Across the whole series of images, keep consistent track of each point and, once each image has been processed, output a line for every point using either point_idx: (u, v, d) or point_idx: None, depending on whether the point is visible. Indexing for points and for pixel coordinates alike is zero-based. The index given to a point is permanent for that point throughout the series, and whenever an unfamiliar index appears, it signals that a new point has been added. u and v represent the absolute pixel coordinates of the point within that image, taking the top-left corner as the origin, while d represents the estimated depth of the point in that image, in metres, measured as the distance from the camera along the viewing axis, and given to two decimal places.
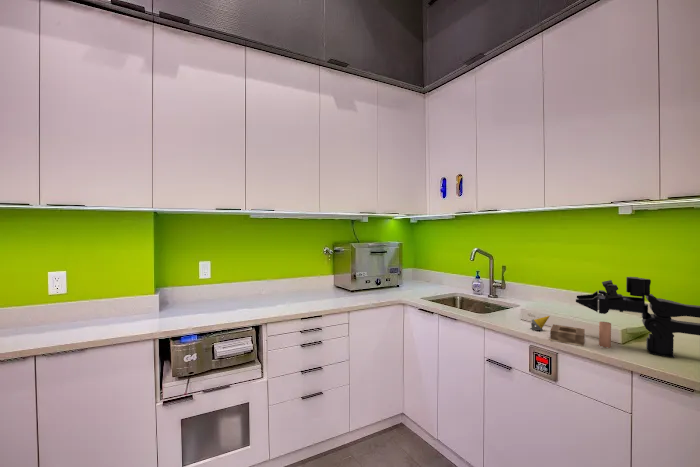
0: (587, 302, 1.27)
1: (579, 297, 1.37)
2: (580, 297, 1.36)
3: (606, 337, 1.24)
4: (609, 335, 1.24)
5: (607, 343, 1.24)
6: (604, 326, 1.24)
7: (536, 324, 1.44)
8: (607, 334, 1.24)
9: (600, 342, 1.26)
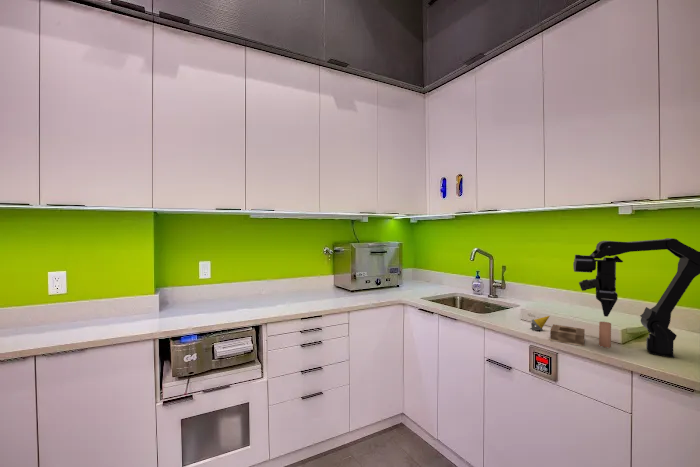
0: (606, 306, 1.21)
1: None
2: None
3: (606, 337, 1.24)
4: (609, 335, 1.24)
5: (607, 343, 1.24)
6: (604, 326, 1.24)
7: (536, 324, 1.44)
8: (607, 334, 1.24)
9: (600, 342, 1.26)
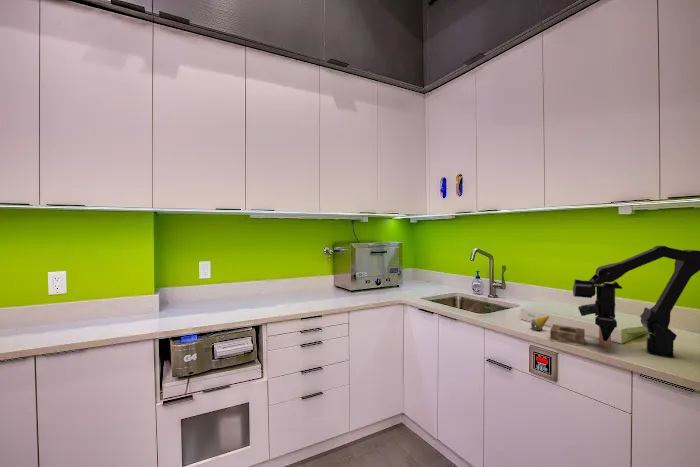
0: (605, 331, 1.23)
1: None
2: None
3: None
4: None
5: (607, 343, 1.24)
6: None
7: (536, 324, 1.44)
8: None
9: (600, 342, 1.26)
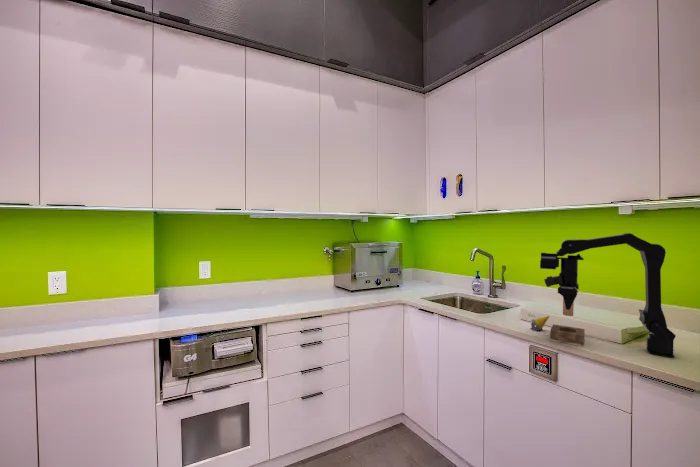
0: (568, 300, 1.30)
1: None
2: None
3: None
4: None
5: (569, 312, 1.31)
6: None
7: (536, 324, 1.44)
8: None
9: (563, 311, 1.33)
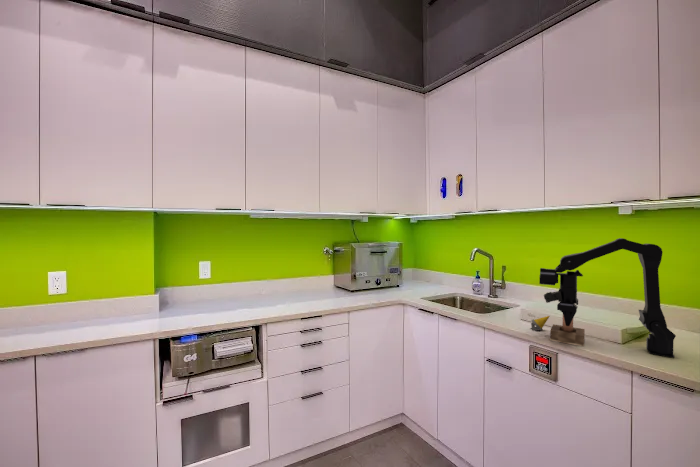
0: (567, 317, 1.30)
1: None
2: None
3: None
4: None
5: (569, 328, 1.31)
6: None
7: (536, 324, 1.44)
8: None
9: (563, 327, 1.33)
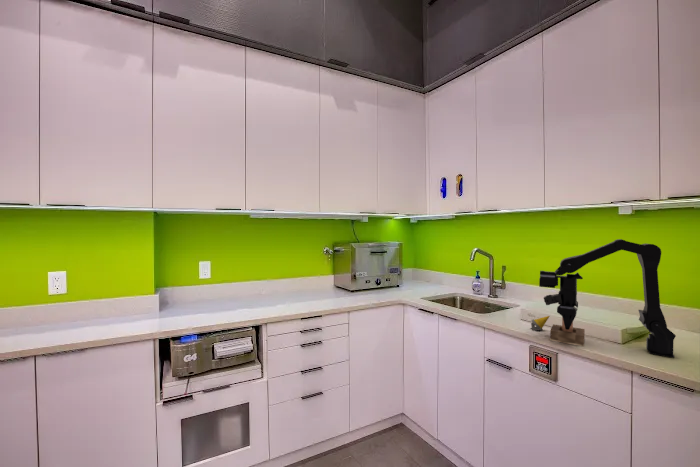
0: (567, 320, 1.29)
1: None
2: None
3: None
4: (571, 327, 1.31)
5: None
6: None
7: (536, 324, 1.44)
8: None
9: None
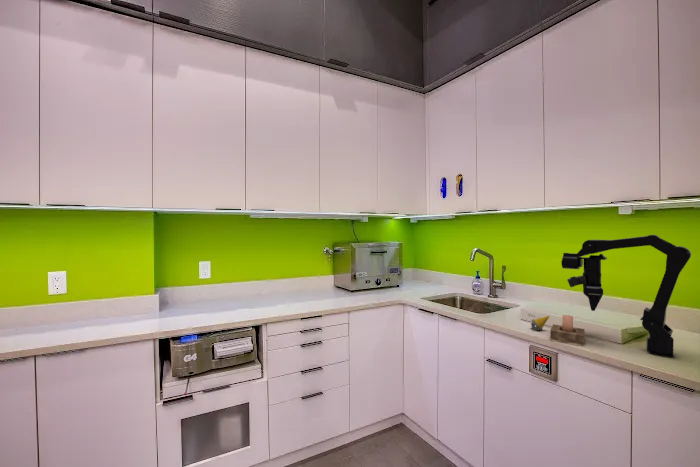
0: (593, 301, 1.29)
1: None
2: None
3: (568, 329, 1.31)
4: (571, 328, 1.31)
5: None
6: (566, 320, 1.32)
7: (536, 324, 1.44)
8: (569, 327, 1.31)
9: None
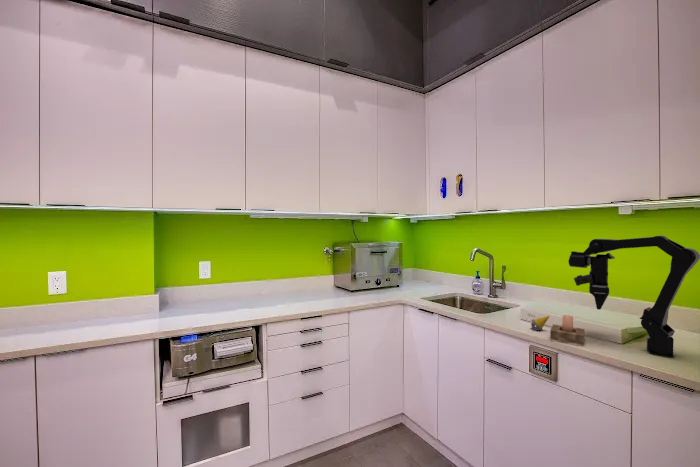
0: (598, 300, 1.29)
1: None
2: None
3: (568, 329, 1.31)
4: (571, 328, 1.31)
5: None
6: (566, 320, 1.32)
7: (536, 324, 1.44)
8: (569, 327, 1.31)
9: None
